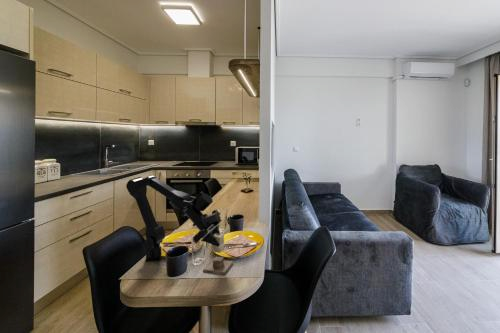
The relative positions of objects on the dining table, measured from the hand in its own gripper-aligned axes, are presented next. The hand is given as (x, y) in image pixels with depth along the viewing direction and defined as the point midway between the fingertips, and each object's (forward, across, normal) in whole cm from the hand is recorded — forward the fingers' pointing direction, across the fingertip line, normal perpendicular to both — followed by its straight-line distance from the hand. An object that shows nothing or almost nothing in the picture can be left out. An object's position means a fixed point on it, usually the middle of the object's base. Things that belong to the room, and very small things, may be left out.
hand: (220, 244), depth 118 cm
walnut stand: (+7, 0, +9) cm, 11 cm away
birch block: (+1, 0, +3) cm, 3 cm away
